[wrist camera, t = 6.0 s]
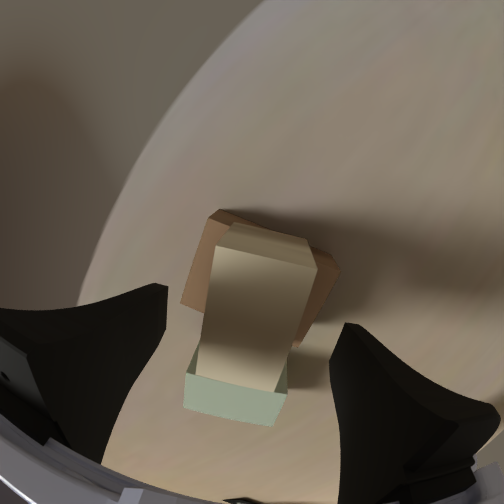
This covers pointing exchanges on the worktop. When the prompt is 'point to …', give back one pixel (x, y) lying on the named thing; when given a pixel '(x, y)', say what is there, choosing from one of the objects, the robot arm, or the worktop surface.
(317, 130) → the worktop surface
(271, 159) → the worktop surface
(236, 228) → the maple brick
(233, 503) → the toy
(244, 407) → the sage brick
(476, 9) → the worktop surface
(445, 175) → the worktop surface
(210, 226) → the walnut slab
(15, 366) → the robot arm
